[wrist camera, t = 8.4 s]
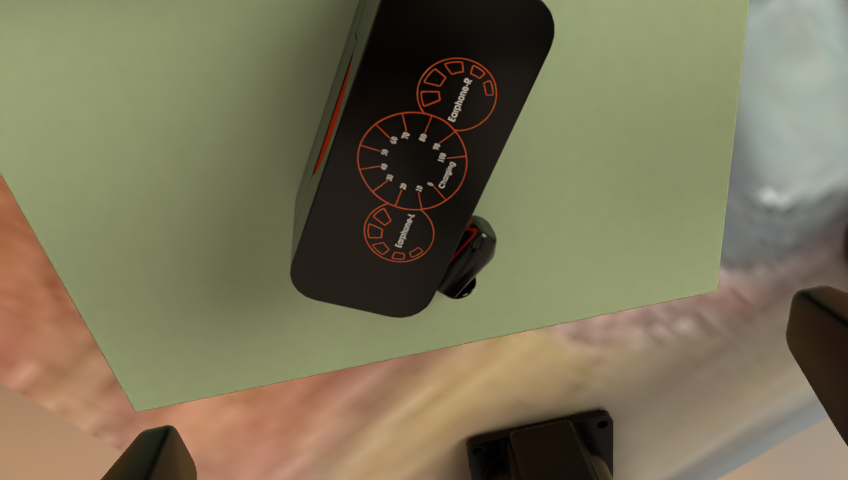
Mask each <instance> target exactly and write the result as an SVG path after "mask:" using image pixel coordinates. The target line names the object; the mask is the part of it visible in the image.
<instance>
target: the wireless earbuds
mask: <svg viewBox="0 0 848 480" xmlns="http://www.w3.org/2000/svg"><path fill="white" fill-rule="evenodd" d="M554 36H555V23H554V20H553V17H552V13H551V11H550V10H549V8H548V7H547V6H546V4H545V3H544V2H543V1H542V0H359V2H358V5H357V8H356V12H355V15H354V18H353V21H352V24H351V27H350V30H349V33H348V36H347V40H346V43H345V46H344V49H343V52H342V55H341V58H340V61H339V64H338V68H337V71H336V74H335V77H334V80H333V83H332V86H331V89H330V92H329V96H328V99H327V102H326V105H325V108H324V111H323V114H322V117H321V120H320V124H319V127H318V130H317V133H316V136H315V139H314V142H313V145H312V148H311V152H310V155H309V158H308V161H307V164H306V167H305V170H304V173H303V176H302V180H301V183H300V186H299V189H298V192H297V195H296V199H295V208H294V222H293V236H292V250H291V265H290V277H291V281H292V284H293V285H294V286H295V288H296V289H297V291H298V292H300V293H301V294H303V295H304V296H305V297H308V298H310V299H313V300H316V301H321V302H325V303H330V304H334V305H338V306H343V307H347V308H352V309H356V310H361V311H365V312H370V313H374V314H379V315H383V316H388V317H395V318H404V317H410V316H413V315H415V314H418V313H420V312H421V311H422V310H424V309H425V308H426V307H428V305H429V304H430V302H431V301H432V299H433V297H434V295H435V293H436V291H438V292H439V293H441V294H443V295H445V296H447V297H448V298H451V299H462V298H466V297H467V296H469V295H470V294H471V293H472V292H473V290H474V289H475V286H476V276H477V274H478V273H479V272H480V271H481V270H482V269H483V268H484V267H485V266H486V265H487V264H488V263H489V262H490V261H491V260H492V258H493V257H494V254H495V248H496V243H497V238H496V234H495V232H494V230H493V228H492V227H491V225H490V223H489V222H488V221H486V220H485V219H484V218H482V217H480V216H477V215H473V212H474V210H475V208H476V206H477V204H478V202H479V200H480V198H481V196H482V193H483V191H484V189H485V187H486V185H487V183H488V181H489V179H490V176H491V174H492V172H493V170H494V168H495V166H496V164H497V162H498V159H499V157H500V155H501V153H502V151H503V149H504V147H505V145H506V142H507V140H508V138H509V136H510V134H511V132H512V130H513V128H514V126H515V123H516V121H517V119H518V117H519V115H520V113H521V111H522V109H523V106H524V104H525V102H526V100H527V98H528V96H529V94H530V92H531V89H532V87H533V85H534V83H535V81H536V79H537V77H538V75H539V73H540V70H541V68H542V66H543V64H544V62H545V60H546V58H547V56H548V53H549V51H550V49H551V46H552V43H553V40H554Z"/></svg>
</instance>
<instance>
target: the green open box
mask: <svg viewBox="0 0 848 480" xmlns="http://www.w3.org/2000/svg"><path fill="white" fill-rule="evenodd" d="M542 1H543V2H544V3H545V4H546V6H547V7H548V8H549V10H550V11H551V13H552V17H553V20H554V23H555V36H554V40H553V43H552V46H551V49H550V51H549V53H548V56H547V58H546V60H545V62H544V64H543V66H542V68H541V70H540V73H539V75H538V77H537V79H536V81H535V83H534V85H533V87H532V89H531V92H530V94H529V96H528V98H527V100H526V102H525V104H524V106H523V109H522V111H521V113H520V115H519V117H518V119H517V121H516V123H515V126H514V128H513V130H512V132H511V134H510V136H509V138H508V140H507V142H506V145H505V147H504V149H503V151H502V153H501V155H500V157H499V159H498V162H497V164H496V166H495V168H494V170H493V172H492V174H491V176H490V179H489V181H488V183H487V185H486V187H485V189H484V191H483V193H482V196H481V198H480V200H479V202H478V204H477V206H476V208H475V210H474V212H473V215H477V216H480V217H482V218H484V219H485V220H486V221H488V222H489V223H490V225H491V227H492V228H493V230H494V232H495V234H496V238H497V243H496V248H495V254H494V257H493V258H492V260H491V261H490V262H489V263H488V264H487V265H486V266H485V267H484V268H483V269H482V270H481V271H480V272H479V273H478V274H477V276H476V286H475V289H474V290H473V292H472V293H471V294H470V295H469V296H467V297H466V298H462V299H451V298H448V297H447V296H445V295H443V294H441V293H439V292H438V291H436V293H435V295H434V297H433V299H432V301H431V302H430V304H429V305H428V307H426V308H425V309H424V310H422V311H421V312H420V313H418V314H415V315H413V316H410V317H404V318H395V317H388V316H383V315H379V314H374V313H370V312H365V311H361V310H356V309H352V308H347V307H343V306H338V305H334V304H330V303H325V302H321V301H316V300H313V299H310V298H308V297H305V296H304V295H303V294H301V293H300V292H298V291H297V289H296V288H295V286H294V285H293V284H292V281H291V277H290V265H291V250H292V236H293V222H294V208H295V199H296V195H297V192H298V189H299V186H300V183H301V180H302V176H303V173H304V170H305V167H306V164H307V161H308V158H309V155H310V152H311V148H312V145H313V142H314V139H315V136H316V133H317V130H318V127H319V124H320V120H321V117H322V114H323V111H324V108H325V105H326V102H327V99H328V96H329V92H330V89H331V86H332V83H333V80H334V77H335V74H336V71H337V68H338V64H339V61H340V58H341V55H342V52H343V49H344V46H345V43H346V40H347V36H348V33H349V30H350V27H351V24H352V21H353V18H354V15H355V12H356V8H357V5H358V2H359V0H0V174H1V176H2V178H3V180H4V181H5V183H6V185H7V187H8V188H9V190H10V192H11V194H12V195H13V197H14V199H15V201H16V202H17V204H18V206H19V208H20V210H21V211H22V213H23V215H24V217H25V218H26V220H27V222H28V224H29V225H30V227H31V229H32V231H33V232H34V234H35V236H36V238H37V239H38V241H39V243H40V245H41V247H42V248H43V250H44V252H45V254H46V255H47V257H48V259H49V261H50V262H51V264H52V266H53V268H54V269H55V271H56V273H57V275H58V277H59V278H60V280H61V282H62V284H63V285H64V287H65V289H66V291H67V292H68V294H69V296H70V298H71V299H72V301H73V303H74V305H75V307H76V308H77V310H78V312H79V314H80V315H81V317H82V319H83V321H84V322H85V324H86V326H87V328H88V329H89V331H90V333H91V335H92V336H93V338H94V340H95V342H96V344H97V345H98V347H99V349H100V351H101V352H102V354H103V356H104V358H105V359H106V361H107V363H108V365H109V366H110V368H111V370H112V372H113V374H114V375H115V377H116V379H117V381H118V382H119V384H120V386H121V388H122V389H123V391H124V393H125V395H126V396H127V398H128V400H129V402H130V403H131V405H132V407H133V409H134V411H135V412H141V411H146V410H151V409H156V408H160V407H165V406H170V405H175V404H180V403H184V402H189V401H194V400H199V399H204V398H208V397H213V396H218V395H223V394H227V393H232V392H237V391H242V390H247V389H251V388H256V387H261V386H266V385H271V384H275V383H280V382H285V381H290V380H294V379H299V378H304V377H309V376H314V375H318V374H323V373H328V372H333V371H338V370H342V369H347V368H352V367H357V366H361V365H366V364H371V363H376V362H381V361H385V360H390V359H395V358H400V357H405V356H409V355H414V354H419V353H424V352H428V351H433V350H438V349H443V348H448V347H452V346H457V345H462V344H467V343H471V342H476V341H481V340H486V339H491V338H495V337H500V336H505V335H510V334H515V333H519V332H524V331H529V330H534V329H538V328H543V327H548V326H553V325H558V324H562V323H567V322H572V321H577V320H582V319H586V318H591V317H596V316H601V315H605V314H610V313H615V312H620V311H625V310H629V309H634V308H639V307H644V306H649V305H653V304H658V303H663V302H668V301H672V300H677V299H682V298H687V297H692V296H696V295H701V294H706V293H711V292H715V291H717V285H718V276H719V267H720V258H721V249H722V240H723V231H724V222H725V213H726V204H727V195H728V186H729V177H730V169H731V160H732V151H733V142H734V133H735V124H736V115H737V106H738V97H739V88H740V79H741V70H742V61H743V52H744V43H745V34H746V25H747V16H748V7H749V0H542Z"/></svg>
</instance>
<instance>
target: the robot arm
mask: <svg viewBox="0 0 848 480" xmlns="http://www.w3.org/2000/svg"><path fill="white" fill-rule="evenodd" d="M786 340H787V344H788V347H789V349H790V351H791V353H792V355H793V356H794V358H795V360H796V361H797V363H798V365H799V366H800V368H801V370H802V372H803V373H804V375H805V377H806V378H807V380H808V382H809V383H810V385H811V387H812V388H813V390H814V392H815V394H816V395H817V397H818V399H819V400H820V402H821V404H822V405H823V407H824V409H825V411H826V412H827V414H828V416H829V417H830V419H831V421H832V422H833V424H834V426H835V427H836V429H837V431H838V432H839V434H840V435H841V437H842V438H843V440H844V441H845V443H846V444H847V446H848V293H845V292H843V291H840V290H838V289H835V288H832V287H829V286H817V287H812V288H808V289H803V290H799V291H798V292H796V293H795V295H794V296H793V299H792V304H791V309H790V314H789V320H788V325H787V331H786ZM477 447H478V448H477ZM466 451H467V456H468V462H469V467H470V473H471V478H472V480H613V420H612V418H611V416H610V414H609V412H608V411H606V410H596V411H591V412H587V413H582V414H577V415H572V416H568V417H563V418H558V419H554V420H549V421H544V422H540V423H535V424H530V425H526V426H521V427H516V428H512V429H507V430H502V431H497V432H493V433H488V434H483V435H479V436H475V437H472V438H470V439H469V440H468V441H467V442H466ZM101 480H197V473H196V467H195V464H194V461H193V459H192V457H191V455H190V453H189V452H188V450H187V448H186V446H185V444H184V442H183V440H182V438H181V437H180V435H179V433H178V431H177V430H176V429H175V428H174V427H173V426H169V425H167V426H162V427H157V428H153V429H148V430H145V431H143V432H141V433H140V434H139V435H138V436H137V437H136V439H135V440H134V441H133V442H132V443H131V444H130V446H129V447H128V448H127V449H126V450H125V452H124V453H123V454H122V455H121V456H120V458H119V459H118V460H117V461H116V462H115V463H114V465H113V466H112V467H111V468H110V469H109V471H108V472H107V473H106V474H105V475H104V477H103V478H102V479H101Z"/></svg>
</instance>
